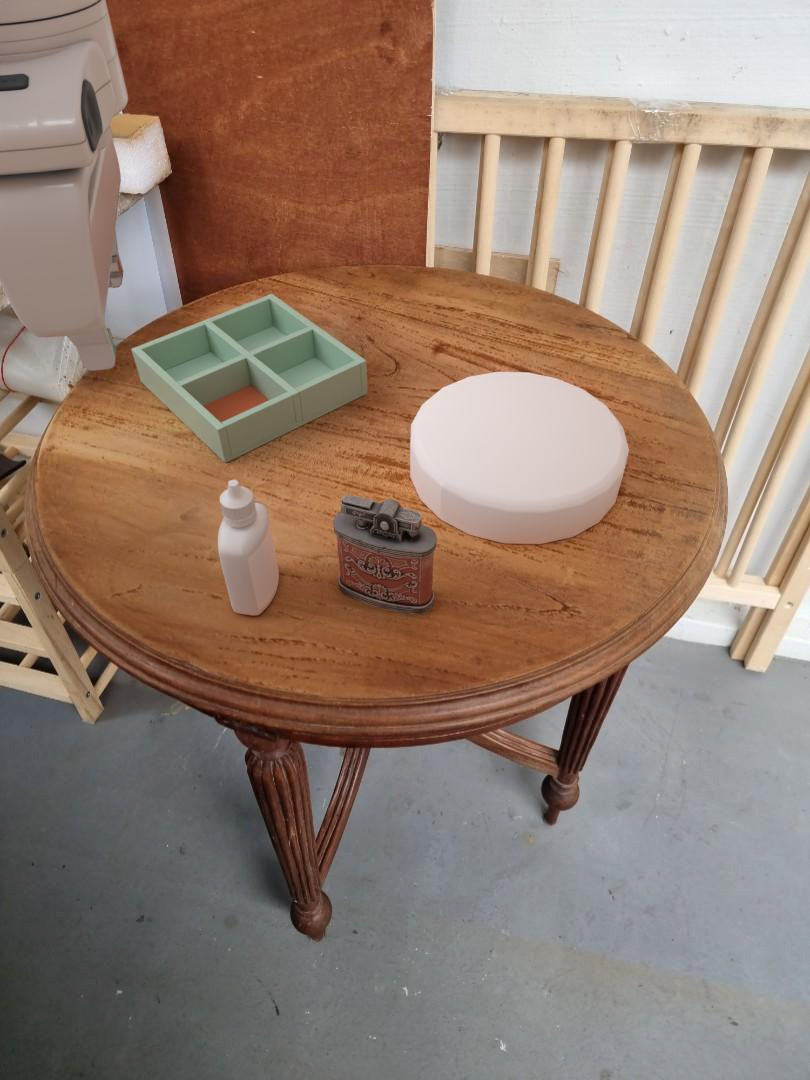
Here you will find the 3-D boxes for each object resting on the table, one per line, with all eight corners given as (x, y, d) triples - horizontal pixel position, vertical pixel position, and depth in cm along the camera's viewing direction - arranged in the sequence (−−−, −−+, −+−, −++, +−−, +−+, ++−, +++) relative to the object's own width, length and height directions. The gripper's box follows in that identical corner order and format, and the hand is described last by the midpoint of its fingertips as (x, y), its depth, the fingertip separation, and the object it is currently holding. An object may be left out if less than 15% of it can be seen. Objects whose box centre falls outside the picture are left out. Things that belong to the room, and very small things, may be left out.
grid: (225, 463, 74) (217, 429, 71) (140, 381, 83) (130, 348, 80) (367, 393, 82) (366, 360, 79) (276, 325, 91) (271, 293, 88)
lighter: (439, 590, 64) (443, 502, 56) (426, 621, 61) (429, 534, 54) (348, 565, 65) (341, 477, 58) (332, 595, 63) (323, 507, 56)
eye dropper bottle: (299, 583, 64) (283, 475, 55) (249, 625, 61) (223, 518, 52) (263, 558, 66) (241, 450, 57) (212, 598, 63) (181, 490, 54)
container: (545, 385, 83) (552, 347, 80) (664, 503, 71) (678, 464, 67) (375, 436, 77) (374, 398, 74) (472, 574, 65) (476, 535, 61)
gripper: (-7, 18, 45) (69, 247, 55) (-86, 153, 31) (34, 426, 41) (106, 12, 46) (160, 239, 56) (77, 142, 32) (155, 412, 42)
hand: (106, 320), depth 48 cm, fingers open, 8 cm apart
